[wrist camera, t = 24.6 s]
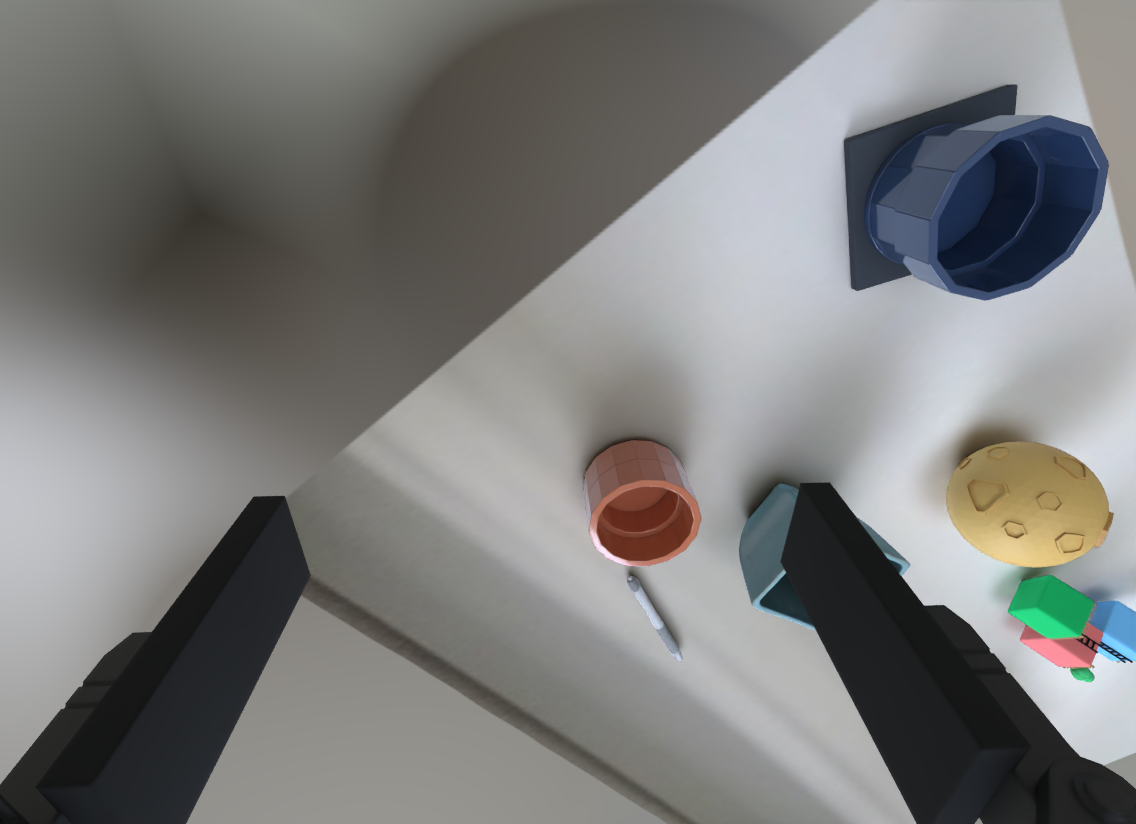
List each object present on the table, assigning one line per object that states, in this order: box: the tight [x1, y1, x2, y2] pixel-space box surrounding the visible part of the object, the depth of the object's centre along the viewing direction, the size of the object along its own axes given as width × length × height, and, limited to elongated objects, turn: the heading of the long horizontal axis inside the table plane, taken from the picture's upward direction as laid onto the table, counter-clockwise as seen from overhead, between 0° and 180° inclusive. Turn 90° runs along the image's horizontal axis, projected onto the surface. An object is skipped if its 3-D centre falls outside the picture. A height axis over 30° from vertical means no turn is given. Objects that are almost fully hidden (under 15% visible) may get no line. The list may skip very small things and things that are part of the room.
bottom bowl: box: [583, 440, 701, 566], centre depth 43 cm, size 8×8×6 cm
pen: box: [627, 575, 682, 661], centre depth 54 cm, size 1×14×1 cm, turn 27°
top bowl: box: [864, 115, 1109, 301], centre depth 32 cm, size 9×9×7 cm
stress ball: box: [946, 441, 1114, 567], centre depth 43 cm, size 10×10×10 cm
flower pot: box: [739, 484, 910, 630], centre depth 45 cm, size 9×9×9 cm
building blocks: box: [1008, 575, 1136, 682], centre depth 53 cm, size 8×8×12 cm
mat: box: [844, 85, 1017, 291], centre depth 35 cm, size 10×10×1 cm
